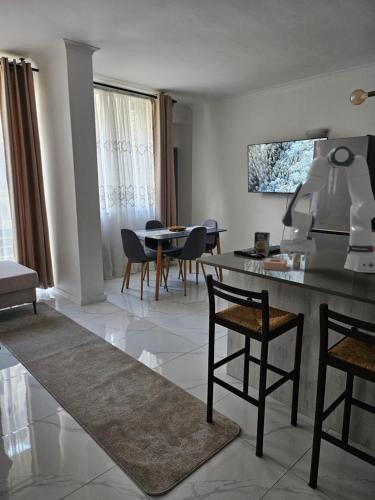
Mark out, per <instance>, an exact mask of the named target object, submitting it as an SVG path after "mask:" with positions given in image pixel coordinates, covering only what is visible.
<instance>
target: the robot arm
mask: <svg viewBox="0 0 375 500" xmlns="http://www.w3.org/2000/svg"><path fill="white" fill-rule="evenodd" d="M337 168H343V169H344V170H345V172H346V180H347V185H348V187H347V188H348V193H349V197H350V199H351V205H350V210H349V228H350V230H349V239H348V244H347V257H346V259H345V260H346V261H345V264H344V266H343V268H344V269H347V270H349V271H354V272H357V273H368V274H369V273H373V274H374V273H375V246H374V245H372V235H373V233H372V232H373V229H372V220H373V219H374V218H375V197H374V193H373V190H372V185H371V183H372V182H371V177H370V171H369V166H368V163H367V159H366V158H365V157H364V155H359V154H358V155H355V153H354V152H353V151H352V150H351V149H350V148H349V147H347V146H346V145H338V146H335V147H334V148H331V150H330V151H329V153H327V154H326V155H325V156H318V157H315V158H313V160H312V162H311V164H310V166H309V168H308V171H307V173H306V174H307V175H306V177H305V179H304V180H303V181H302V182H300V183H299V184H297V187H296V188H295V189H294V192H293V194H292V197H290V201H289V202H288V205H287V207H286V208H285V210H284V212H283V214H282V217H281V222H282V224H283V225H284V226H285V227H289V228H292V234H291V239H282V240H280V248H279V253H281V254H285V255H288V258H289V261H293V255H294V253H301V261H302V262H305V260H306V258H308V256H316V255H317V244H316V242H315V237H313V236H309V235H308V233H309V232H311V231H313V229H314V227H315V222H316V217H315V215H314V214H312V213H308V212H303V211H297V210H295V209H296V208H297V205H298V203H299V201H300V198H301V197H303V196H304V195H306V194H314V193H317V192H320V191H321V190H323V189H324V188H325V186H326V184H327V180H328V178H329V174H330V172H331V170H332V169H337Z"/></svg>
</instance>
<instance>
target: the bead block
mask: <svg viewBox="0 0 375 500" xmlns="http://www.w3.org/2000/svg"><path fill="white" fill-rule="evenodd" d="M262 263H263V266H262V267H263V270H272V269H273V271H274V270H276V271H284V272H285V271H286V268H287V265H288V259H285V258H272V257H265V259H264V261H263V262H262Z"/></svg>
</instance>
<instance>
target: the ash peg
mask: <svg viewBox="0 0 375 500" xmlns="http://www.w3.org/2000/svg"><path fill="white" fill-rule="evenodd" d="M301 261H302V255H301V253H294V254H293V257H292V262H293V264H292V269H293V270H301V264H302V263H301Z"/></svg>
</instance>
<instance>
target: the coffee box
mask: <svg viewBox="0 0 375 500" xmlns="http://www.w3.org/2000/svg"><path fill="white" fill-rule="evenodd" d="M270 235H271V232H267V231H266V232H264V231H255V232H254V239H253V241H254V242H253V243H254V244H253V245H254V246H253V254H254V253H258V254H262V255H264V256H265V257H264V258H268V257H269V256H268V254H270V253H269V252H270V238H271V237H270Z"/></svg>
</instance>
